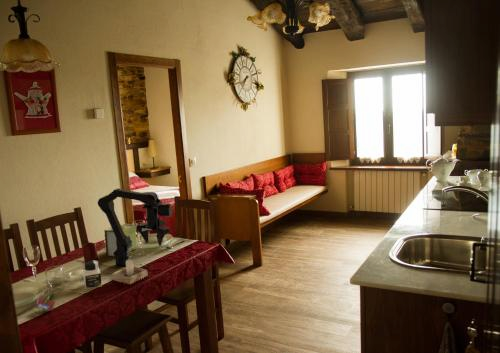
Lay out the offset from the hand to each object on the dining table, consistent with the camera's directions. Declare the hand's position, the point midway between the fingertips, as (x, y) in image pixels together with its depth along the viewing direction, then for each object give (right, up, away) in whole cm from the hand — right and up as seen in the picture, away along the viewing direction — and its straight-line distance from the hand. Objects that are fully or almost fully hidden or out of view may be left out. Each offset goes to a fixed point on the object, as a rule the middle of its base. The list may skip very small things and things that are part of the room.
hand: (153, 244), depth 225 cm
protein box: (-24, -9, +24) cm, 35 cm away
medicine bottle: (-24, -17, -22) cm, 37 cm away
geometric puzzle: (-35, -21, -47) cm, 62 cm away
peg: (-8, -15, -14) cm, 22 cm away
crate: (-8, -15, -14) cm, 22 cm away
